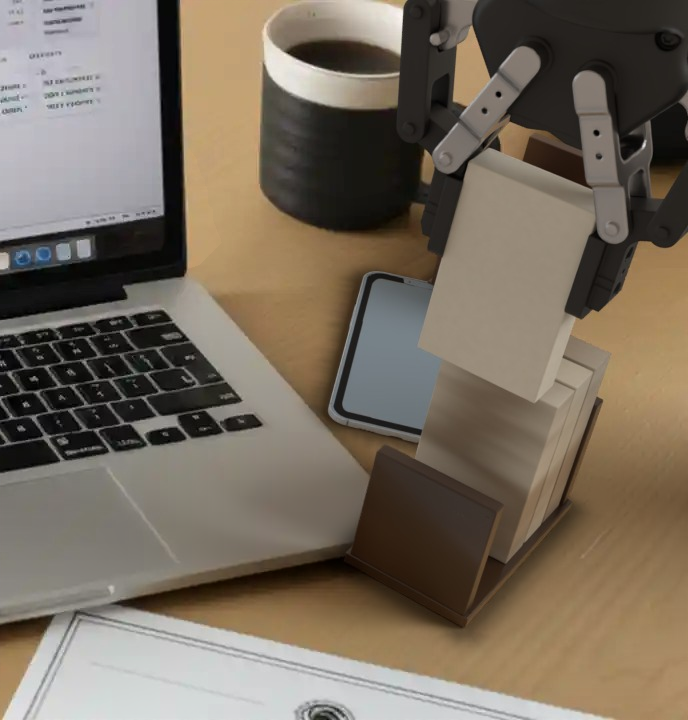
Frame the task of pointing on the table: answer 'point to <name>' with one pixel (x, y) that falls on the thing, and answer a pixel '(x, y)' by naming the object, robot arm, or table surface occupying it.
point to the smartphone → (386, 359)
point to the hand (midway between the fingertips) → (511, 276)
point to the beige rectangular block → (509, 274)
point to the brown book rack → (477, 485)
